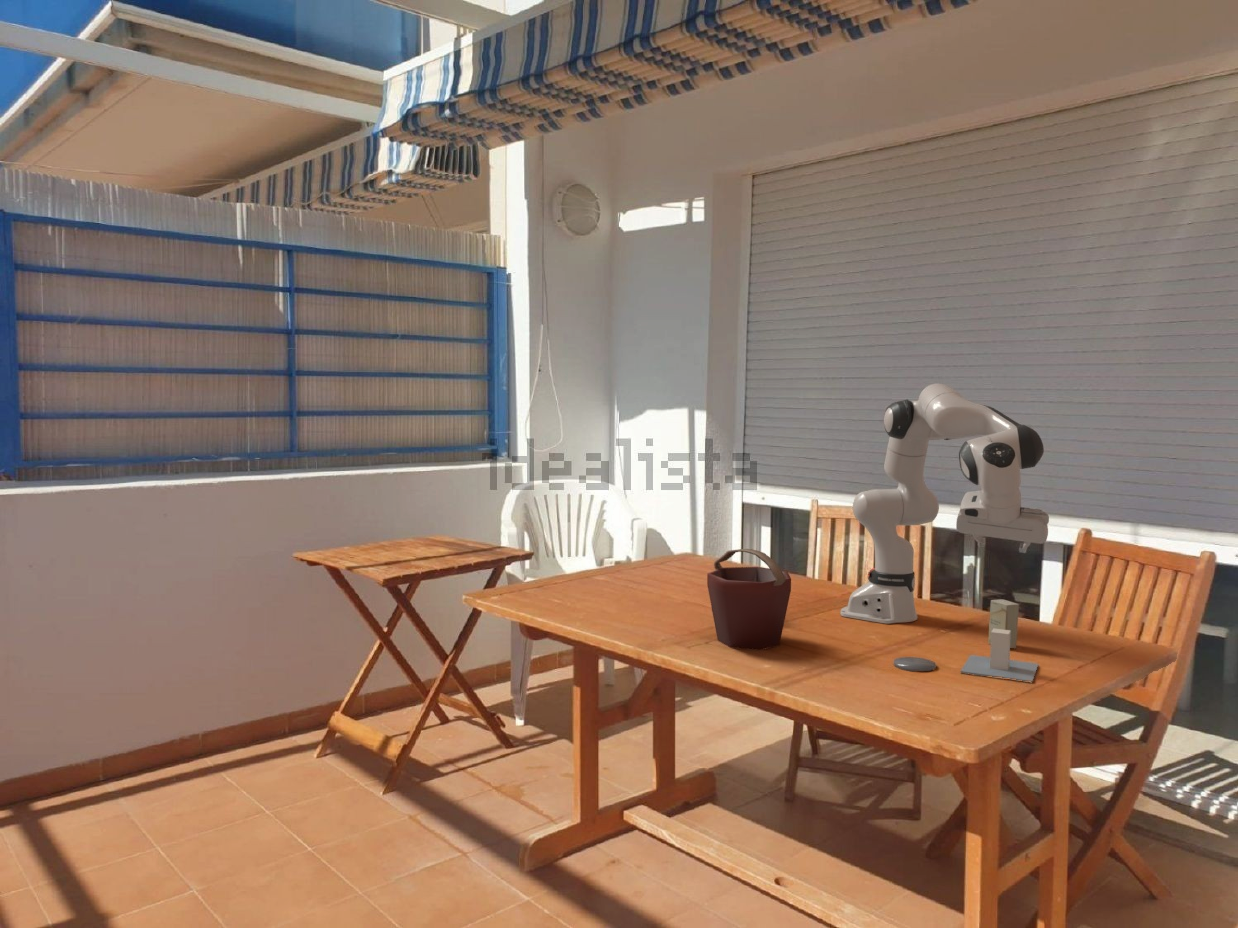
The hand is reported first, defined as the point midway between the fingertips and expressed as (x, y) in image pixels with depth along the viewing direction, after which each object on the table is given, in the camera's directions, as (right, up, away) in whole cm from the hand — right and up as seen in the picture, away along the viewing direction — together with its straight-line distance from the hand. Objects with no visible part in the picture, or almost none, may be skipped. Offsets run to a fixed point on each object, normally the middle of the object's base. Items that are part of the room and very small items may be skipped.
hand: (1002, 548), depth 226 cm
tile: (+1, -30, +3) cm, 30 cm away
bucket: (-57, -28, +29) cm, 70 cm away
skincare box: (+10, -29, +24) cm, 39 cm away
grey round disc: (-19, -30, +6) cm, 36 cm away
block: (+1, -30, +3) cm, 30 cm away
